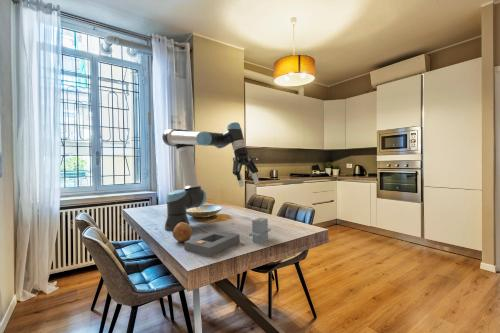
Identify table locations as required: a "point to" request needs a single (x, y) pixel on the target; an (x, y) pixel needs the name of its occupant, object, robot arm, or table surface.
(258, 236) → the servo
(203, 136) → the robot arm
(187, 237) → the onion
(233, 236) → the pocket block
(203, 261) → the table surface
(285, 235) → the table surface
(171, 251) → the table surface
